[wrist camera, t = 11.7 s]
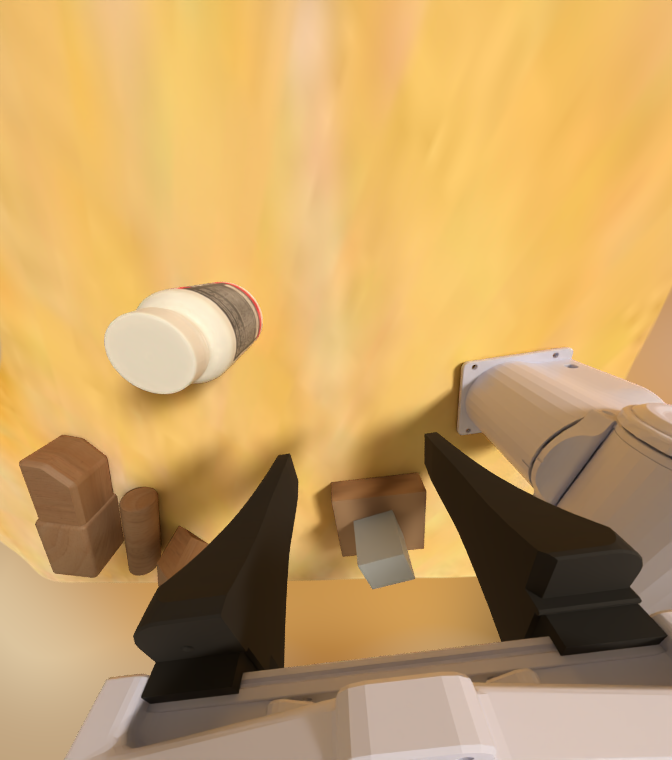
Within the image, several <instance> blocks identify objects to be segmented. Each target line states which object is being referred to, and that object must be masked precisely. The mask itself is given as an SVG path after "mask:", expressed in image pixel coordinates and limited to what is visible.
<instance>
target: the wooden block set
mask: <svg viewBox="0 0 672 760" xmlns="http://www.w3.org/2000/svg"><path fill="white" fill-rule="evenodd" d="M19 466H20V468H21V471H22V474H23V477H24V479H25V482H26V485H27V488H28V490H29V493H30V496H31V498H32V501H33V504H34V507H35V509H36V512H37V515H38V517H39V519H38V520H37V522H36V524H35V525H36V528H37V530H38V533H39V536H40V538H41V541H42V543H43V546H44V549H45V551H46V554H47V557H48V559H49V562H50V564H51V567H52V570H53V572H54V573H56V574H65V575H73V576H82V577H91V578H94V577H96V576H97V575H99V573H100V572H101V571H102V569H103V568H104V567H105V565H106V564H107V563H108V561H109V560H110V559H111V557H112V556H113V555H114V553H115V552H116V551H117V549H118V548H119V547H120V545H121V544H122V543H123V541H124V539H125V546H126V552H127V559H128V565H129V570H130V572H131V573H132V574H134V575H144V574H147V573H149V572H151V571H152V570H153V569H154V568H155V567H156V566H157V572H158V586H161V585H162V584H163V583H165V582H166V581H167V580H168V579H170V578H171V577H172V576H173V575H174V574H176V573H177V572H178V571H179V570H181V569H182V568H183V567H184V566H185V565H187V564H188V563H189V562H190V561H191V560H192V559H193V558H195V557H196V556H197V555H198V554H199V553H200V552H201V551H202V550H203V549H204V548H206V547H207V546H208V545H209V544H207V543H206V542H204V541H203V540H201V539H200V538H198V537H197V536H195V535H194V534H192V533H191V532H189V531H188V530H186V529H184V528H183V527H181V526H179V527H178V528H177V530H176V532H175V534H174V535H173V537H172V539H171V540H170V542H169V544H168V545H167V547H166V549H165V551H164V552H163V554H162V556H161V543H160V526H159V509H158V494H157V492H156V491H155V490H154V489H153V488H149V487H140V488H137V489H134V490H132V491H130V492H128V493H127V494H126V495H125V496H124V497H123V498H122V500H121V501H120V504H119V505H118V499H117V496H116V494H113V491H112V485H111V479H110V473H109V468H108V462H107V457H106V456H105V455H104V454H103V453H101V452H100V451H99V450H98V449H96V448H95V447H94V446H92V445H91V444H90V443H89V442H87V441H86V440H85V439H83V438H78V437H72V436H66V435H61V436H60V437H58V438H56V439H55V440H53V441H52V442H50V443H48V444H47V445H45V446H44V447H42V448H40V449H39V450H37V451H36V452H34V453H32V454H31V455H29V456H28V457H26V458H24V459H23V460H21V461H20V462H19ZM119 507H120V511H119ZM120 514H121V518H120ZM121 520H122V524H121ZM122 526H123V530H122ZM123 533H124V537H123Z"/></svg>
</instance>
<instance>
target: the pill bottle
mask: <svg viewBox="0 0 672 760" xmlns="http://www.w3.org/2000/svg"><path fill="white" fill-rule="evenodd" d="M262 326H263V317H262V312H261V309H260V306H259V304H258V303H257V301H256V299H255V298H254V297H253V296H252V295H251V294H250V293H249V292H248V291H247V290H246V289H244V288H243V287H241V286H239V285H236V284H234V283H230V282H215V283H207V284H200V285H194V286H187V287H180V288H171V289H166V290H162V291H158V292H156V293H153V294H151V295H150V296H148V297H147V298H145V299H144V300H143V301H142V302H141V303H140V305H139V306H138V308H137V309H136V311H133V312H129V313H126V314H123V315H121V316H119V317H117V318H116V319H115V320H113V321H112V322H111V323H110V325H109V326H108V328H107V330H106V333H105V339H104V345H105V350H106V353H107V356H108V358H109V360H110V362H111V364H112V366H113V367H114V368H115V369H116V371H117V372H118V373H119V374H120V375H121V376H122V377H123V378H124V379H126V380H127V381H128V382H130V383H131V384H132V385H134V386H136V387H138V388H140V389H142V390H145V391H148V392H152V393H157V394H172V393H176V392H179V391H181V390H183V389H185V388H186V387H188V386H189V385H190V384H192V383H193V384H195V383H204V382H208V381H211V380H214V379H216V378H217V377H219V376H220V375H222V374H223V373H224V372H225V371H226V370H227V369H228V368H229V367H230V366H231V365H232V364H233V363H234V362H235V361H236V360H237V359H238V358H239V357H240V356H241V355H242V354H243V353H244V352H245V351H246V350H247V349H248V348H249V347H250V346H251V345H252V344H253V343H254V342H255V341H256V340H257V338H258V337H259V335H260V333H261V330H262Z"/></svg>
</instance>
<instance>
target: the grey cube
mask: <svg viewBox="0 0 672 760" xmlns="http://www.w3.org/2000/svg"><path fill="white" fill-rule="evenodd" d="M354 532H355V542H356V552H357V562H358V567H359V569H360V570H361V572H362V573H363V575H364V577H365V578H366V580H367V581H368V583H369V584H370V586H371V588H372V589H376V588H380V587H384V586H388V585H392V584H396V583H400V582H405V581H409V580H413V579H415V576H414V572H413V569H412V565H411V561H410V558H409V554H408V551H407V547H406V544H405V540H404V536H403V533H402V531H401V529H400V527H399V524H398V522H397V520H396V518H395V515H394V513H393V511H392V510H390V511H387V512H383V513H380V514H376V515H373V516H369V517H366V518H362V519H359V520H355V521H354Z"/></svg>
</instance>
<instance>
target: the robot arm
mask: <svg viewBox="0 0 672 760" xmlns="http://www.w3.org/2000/svg"><path fill="white" fill-rule="evenodd" d="M554 353H555V355H554V356H553V354H554ZM572 354H573V349H571V348H569V347H562V348H556V349H549V350H542V351H535V352H529V353H522V354H515V355H508V356H501V357H495V358H488V359H481V360H474V361H468V362H465V363H464V364H463V365H462V367H461V380H460V393H459V407H458V420H457V432H458V433H459V434H460V435H467V434H474V433H482V432H483V433H484V435H485V436H486V437H487V438H488V439H489V440H490V441H491V442H492V443H493V444H494V445H495V447H496V448H497V449H498V450H499V451H500V452H501V453H502V454H503V455H504V456H505V458H506V459H507V460H508V461H509V462H510V463H511V464H512V465H513V466H514V467H515V468H516V470H517V471H518V472H519V473H520V474H521V475H522V476H523V477H524V478H525V479H526V480H527V482H528V483H529V484H530V485H531V486H532V487H533V488H534V494H533V495H531V494H529V493H527V492H525V491H523V490H521V489H519V488H517V487H515V486H514V485H512V484H510V483H508V482H507V481H505V480H503V479H501V478H500V477H498V476H496V475H495V474H493V473H491V472H490V471H488V470H487V469H485V468H484V467H482V466H481V465H479V464H478V463H476V462H475V461H473V460H472V459H471V458H469V457H468V456H467V455H465V454H464V453H462V452H461V451H460V450H459V449H457V448H456V447H455V446H453V445H452V444H451V443H450V442H448V441H447V440H446V439H444V438H443V437H442V436H441V435H439V434H438V433H437V432H434V433H427V434H425V466H426V468H427V471H428V474H429V476H430V478H431V481H432V483H433V485H434V487H435V489H436V491H437V492H438V494H439V496H440V498H441V500H442V502H443V504H444V506H445V507H446V509H447V511H448V513H449V515H450V517H451V519H452V520H453V522H454V524H455V526H456V528H457V530H458V532H459V535H460V537H461V539H462V542H463V544H464V546H465V549H466V551H467V553H468V556H469V558H470V561H471V563H472V566H473V568H474V571H475V573H476V576H477V578H478V581H479V583H480V586H481V588H482V591H483V593H484V596H485V599H486V601H487V603H488V606H489V609H490V612H491V614H492V617H493V620H494V623H495V625H496V628H497V631H498V634H499V636H500V639H501V642H497V643H488V644H480V645H471V646H463V647H455V648H447V649H438V650H430V651H421V652H413V653H406V654H396V655H388V656H379V657H371V658H363V659H354V660H346V661H338V662H329V663H321V664H313V665H304V666H296V667H288V668H284V648H285V647H284V646H285V617H286V595H287V578H288V564H289V552H290V544H291V538H292V532H293V526H294V520H295V513H296V507H297V500H298V478H297V475H296V472H295V469H294V465H293V462H292V459H291V455H290V454H284V455H279V456H278V457H277V458H276V460H275V462H274V463H273V465H272V466H271V468H270V470H269V471H268V473H267V474H266V476H265V477H264V479H263V480H262V482H261V483H260V485H259V486H258V488H257V489H256V491H255V492H254V493H253V495H252V496H251V497H250V499H249V500H248V501H247V503H246V504H245V505H244V507H243V508H242V509H241V510H240V512H239V513H238V514H237V515H236V516H235V517H234V519H233V520H232V521H231V522H230V523H229V524H228V525H227V526H226V527H225V528H224V530H223V531H222V532H221V533H220V534H219V535H218V536H217V537H216V538H215V539H214V540H213V541H212V542H211V543H210V544H209V545H208V546H207V547H206V548H204V549H203V550H202V551H201V552H200V553H199V554H198V555H197V556H196V557H195V558H193V559H192V560H191V561H190V562H189V563H188V564H187V565H185V566H184V567H183V568H182V569H181V570H179V571H178V572H177V573H176V574H174V575H173V576H172V577H171V578H170V579H168V580H167V581H166V582H165V583H163V584H162V585H161V586H159V587H158V589H157V591H156V593H155V594H154V596H153V598H152V600H151V602H150V604H149V605H148V608H147V609H146V611H145V613H144V615H143V617H142V619H141V621H140V623H139V625H138V627H137V629H136V631H135V633H134V636H133V637H134V641H135V644H136V645H137V646H138V648H139V649H140V650H142V651H143V652H144V653H145V654H146V655H148V656H149V657H150V658H151V659H152V660H154V661H155V662H156V664H155V665H154V668H153V670H152V672H151V675H150V676H149V675H145V674H134V675H126V676H118V677H110V678H109V679H108V680H106V682H105V683H104V685H103V687H102V689H101V691H100V693H99V695H98V697H97V699H96V700H95V702H94V705H93V706H92V708H91V710H90V712H89V714H88V716H87V717H86V719H85V721H84V723H83V725H82V727H81V729H80V731H79V733H78V734H77V736H76V738H75V740H74V742H73V744H72V746H71V748H70V750H69V751H68V753H67V755H66V757H65V759H64V760H672V405H670V404H666V403H664V401H663V400H661V398H659V397H658V396H657V395H655V394H654V393H653V392H651V391H650V390H648V389H646V388H644V387H642V386H639V385H637V384H634V383H632V382H628V381H626V380H624V379H621V378H619V377H616V376H614V375H611V374H608V373H606V372H603V371H601V370H598V369H595V368H593V367H590V366H588V365H585V364H583V363H580V362H577V361H575V360H572V359H571V358H572ZM473 365H475V367H474V368H472V366H473ZM467 429H468V430H467Z"/></svg>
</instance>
